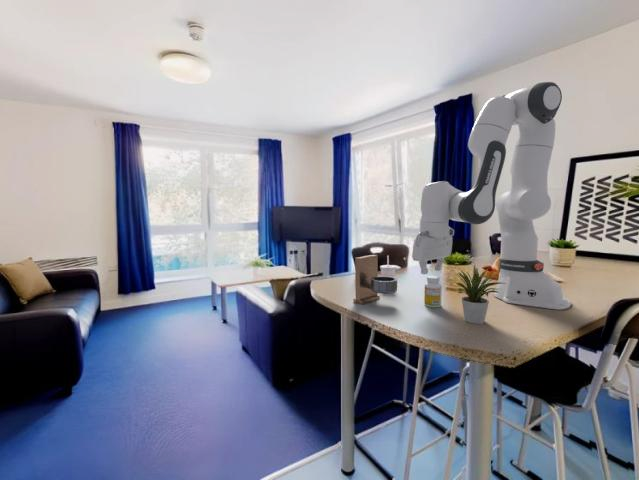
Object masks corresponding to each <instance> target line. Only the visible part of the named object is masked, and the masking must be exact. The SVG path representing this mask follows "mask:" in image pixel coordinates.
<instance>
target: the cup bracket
mask: <svg viewBox="0 0 639 480" xmlns="http://www.w3.org/2000/svg"><path fill="white" fill-rule="evenodd" d="M378 256H379V255H378V254H370V255H363V256H359V257H355V258H354V260H355V262H354V263H355V266H354V267H355V270H354V272H355V273H354V274H355V281H354V282H355V284H354V285H355V298H353V299H352V300H353V303H355V304H359V305H365V304H368V303H370V302H371V303H372V302H374V301H378V300H380V299H381V297H380V296H381V295H379V294H383V295H384V294H385V295H386V294H387V295H389V294H395V293H397V292H398V278H396V277H395V276H394V277H388V276H382V275H381V276H380V275H379V273H378V267H379V265H378V263H379V262H378V261H379V259H378Z"/></svg>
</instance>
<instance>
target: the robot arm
mask: <svg viewBox="0 0 639 480" xmlns="http://www.w3.org/2000/svg"><path fill="white" fill-rule="evenodd" d="M562 95H563V94H562V90H561V88H560V87H559V85H557V84H556V83H555V82H554V81H553V82H552V81H545V82H538V83H536V84H533V85H528V86H525V87H522V88H519V89H517V90H514V91H512V92H510V93H508V94H504V95H502V96H494V97H492V98H490V99H489V100H487V101H486V102H485V104H484V105H483V107H482V108H481V109H480V112H479V114H478V115H477V118H476V120H475V121H474V124H473V126H472V129H471V132H470V134H469V138H468V142H467V148H468V150H469V151H470V153H471V155H473V156H475V157H476V158H478V159H479V162H480V163H479V167H478V172H477V175H476V178H475V181H474V185H473V186H472V188H471V189H470V190H469V191H462V190H460V189H458V188H455V186H453V185H451V184H450V182H449V181H446V180H442V181H436V182H429V183H427V184H425V185H424V186H423V190H422V193H421V200H420V210H421V217H420V220H419V232H418V233H417V235H416V236H415V238H414V240H413V245H412V246H413V247H412V253H411V256H412V257H411V258H412V260H413V261H415V262H418V264H419V267H420V274H421V275H427V274H429V268H428V266H427V264H428V261H432V260H436V264H435V265H434V270H435V271H439V272H440V271H442V269H443V264H444V262H445V258H447V257H450V256H451V254H452V249H453V236H454V234H455V229H453V228H452V227H450V225H449V221H450V220H452V221H455V222H461V223H462V222H463V223H468V224H472V225H481V224H484V223H486V222H488V221H489V220H490V219H491V218H492V216H493V215H494V212H495V210H496V212H497V216H498V222H499V223H498V224H499V230H500V257H499V258H498V264H497V265H498V267H497V270H498V273H499V274H498V276H501V277H498V278H497V282H501V283H505V284H496V288H495V291H498V290H499V291H498V292H499V293H498V292H493V293H494V294H493V296H494V297H496V298H497V299H500V300H502V301H503V302H504V303H507V304H513V305H514V304H515V305H519V306H520V305H522V306H528V307H536V308H542V309H550V310H551V309H552V310H557V311H558V310H560V311H561V310H566V309H568V308H570V307H571V306H572V301H571V300H570V299H568V298H566V297H564V293H563V289H562V286H561V284H560V283H559V282H558V281H556V280H555V279H553V277H551V276H550V275H548V274H547V273H546V272H545V271H544V266H545V265H544V264H545V262H542V261H540V260H539V259H537V258H538V246H539V245H538V243H539V242H538V241H539V238H538V235H537V232H536V231H535V226H534V222H533V221H534V220H537V219H540V218H542V217H543V216H545V215H546V214H548V212H549V210H550V209H551V206H552V201H551V196H550V195H549V194H548V193H549V192H548V174H549V173H548V172H549V166H550V163H551V159H552V154H553V149H554V145H555V138H556V121H555V119H554V118H555V117H556V115H557V113H558V111H559V109H560V106H561V103H562V97H563V96H562ZM513 126H518V129H519V131H518V132H519V133H518V135H517V139H516V141H515V146H514V150H513V154H512V160H511V163H510V169H509V171H510V174H511V188H510V190H508V191H505V192H504V193H502V194H501V195H500V196H499V197H498V198H497V199H496V196H497V195H496V193H497V189H498V185H499V182H500V179H501V175H502V171H503V168H504V164H505V161H506V155H507V148H506V143H507V142H508V138H509V135H510V133H511V130H512V127H513ZM497 288H499V289H497ZM496 289H497V290H496Z"/></svg>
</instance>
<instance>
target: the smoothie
mask: <svg viewBox="0 0 639 480" xmlns="http://www.w3.org/2000/svg"><path fill="white" fill-rule="evenodd" d="M386 258H387V259H386V261H387V262H386V263H387V264H382V265H380V266H379V269H380V271H381V272H380V274H381V276H388V277H394V278H395V275H396V270H397V266H396V265H392V264H389V263H390V259H389V258H390V255H387V256H386Z"/></svg>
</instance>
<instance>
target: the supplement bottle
mask: <svg viewBox="0 0 639 480" xmlns="http://www.w3.org/2000/svg"><path fill="white" fill-rule="evenodd" d="M440 280H441V279H440V276H437V275H428V276H426V282H425V283H424V306H426V307H429V308H439V307H441V306H442V290H443V289H442V284H441V283H440Z"/></svg>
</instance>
